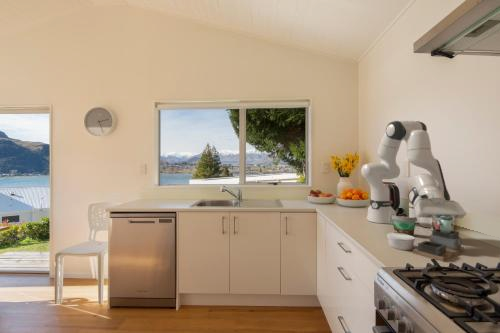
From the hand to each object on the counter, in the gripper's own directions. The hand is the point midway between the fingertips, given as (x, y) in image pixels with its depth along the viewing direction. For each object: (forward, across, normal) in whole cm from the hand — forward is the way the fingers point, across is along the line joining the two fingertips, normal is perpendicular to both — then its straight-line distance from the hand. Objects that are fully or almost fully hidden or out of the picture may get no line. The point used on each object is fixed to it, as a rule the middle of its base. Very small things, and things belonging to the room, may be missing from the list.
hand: (446, 225), depth 115 cm
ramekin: (+8, +19, -9) cm, 22 cm away
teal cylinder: (+3, 0, -4) cm, 5 cm away
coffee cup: (-2, -7, -18) cm, 19 cm away
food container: (-7, +7, -24) cm, 26 cm away
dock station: (+11, +5, -5) cm, 13 cm away
